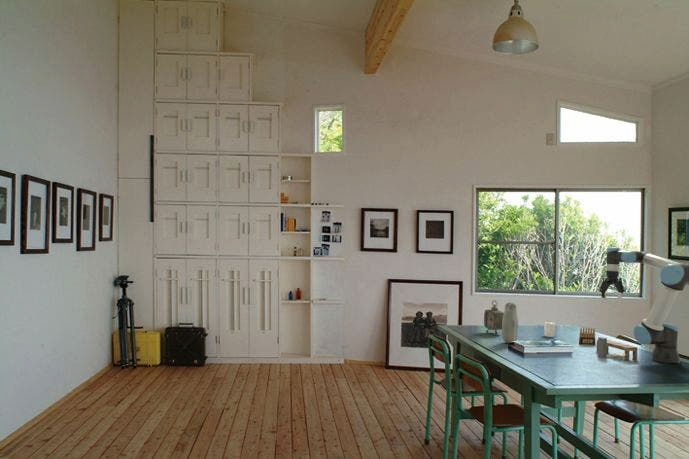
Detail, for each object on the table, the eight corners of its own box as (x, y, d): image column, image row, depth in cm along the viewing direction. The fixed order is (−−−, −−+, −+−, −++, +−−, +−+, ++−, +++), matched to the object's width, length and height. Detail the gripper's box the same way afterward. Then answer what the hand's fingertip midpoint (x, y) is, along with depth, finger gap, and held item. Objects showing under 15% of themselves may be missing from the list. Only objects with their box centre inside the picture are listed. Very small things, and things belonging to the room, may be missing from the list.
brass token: (631, 357, 326) (631, 355, 326) (625, 357, 325) (625, 355, 325) (625, 355, 330) (625, 353, 330) (620, 355, 329) (620, 353, 329)
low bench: (637, 360, 315) (637, 347, 315) (626, 361, 313) (627, 347, 313) (606, 351, 338) (606, 339, 338) (596, 352, 335) (596, 339, 335)
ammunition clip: (594, 344, 361) (594, 327, 361) (595, 345, 359) (596, 327, 359) (578, 343, 362) (579, 326, 362) (579, 344, 360) (580, 327, 360)
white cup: (552, 335, 391) (552, 322, 391) (557, 337, 383) (557, 323, 383) (542, 335, 391) (542, 321, 391) (546, 337, 383) (546, 323, 383)
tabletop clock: (483, 332, 395) (484, 299, 395) (493, 331, 398) (494, 299, 398) (494, 335, 381) (495, 301, 381) (505, 335, 384) (506, 301, 384)
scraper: (603, 358, 318) (604, 338, 319) (596, 355, 324) (596, 336, 324) (626, 357, 324) (627, 337, 324) (618, 354, 330) (619, 336, 330)
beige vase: (498, 342, 358) (499, 301, 358) (510, 341, 361) (512, 301, 362) (508, 345, 349) (509, 303, 349) (520, 344, 352) (521, 303, 352)
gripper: (621, 270, 350) (620, 301, 350) (593, 270, 341) (592, 302, 341) (631, 271, 343) (630, 303, 343) (603, 270, 334) (602, 303, 334)
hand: (611, 302), depth 342 cm, fingers open, 13 cm apart
